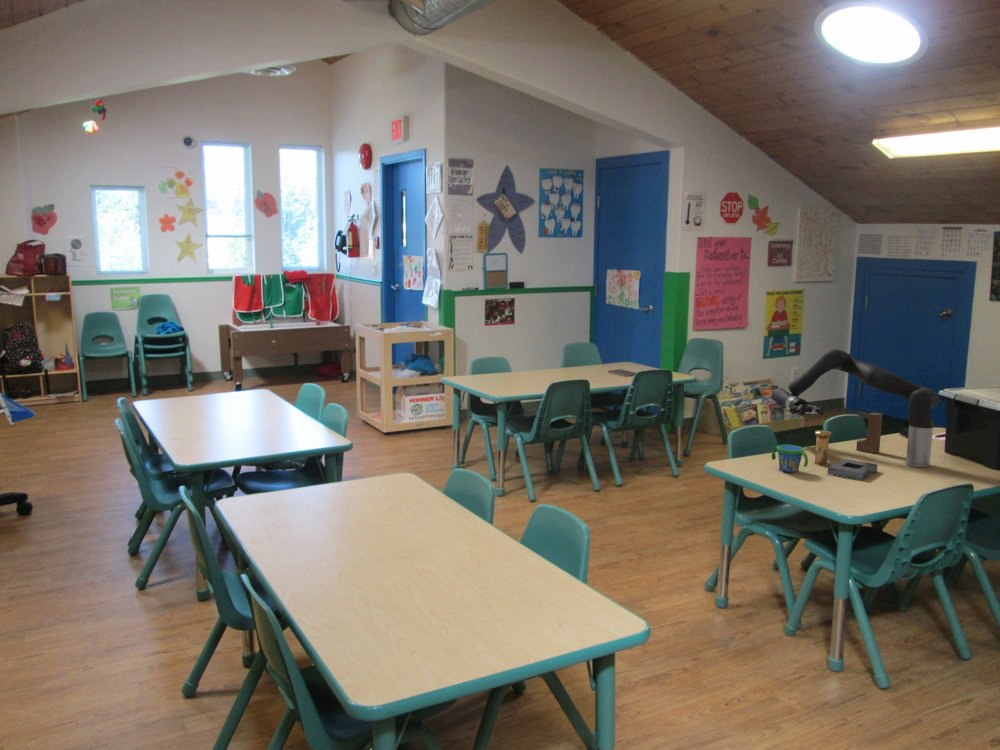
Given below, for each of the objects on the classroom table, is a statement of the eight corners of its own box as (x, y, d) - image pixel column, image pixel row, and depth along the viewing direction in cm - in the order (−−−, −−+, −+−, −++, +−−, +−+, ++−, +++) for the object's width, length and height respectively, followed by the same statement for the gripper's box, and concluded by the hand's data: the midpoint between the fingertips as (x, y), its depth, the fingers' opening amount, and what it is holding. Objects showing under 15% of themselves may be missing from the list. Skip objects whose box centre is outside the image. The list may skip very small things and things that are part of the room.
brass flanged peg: (816, 461, 370) (818, 429, 368) (831, 463, 366) (833, 431, 364) (810, 464, 365) (812, 432, 363) (825, 466, 361) (828, 434, 359)
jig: (842, 465, 364) (843, 458, 363) (876, 471, 355) (877, 464, 354) (827, 474, 350) (828, 467, 350) (862, 480, 341) (863, 473, 341)
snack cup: (812, 473, 351) (814, 449, 350) (796, 477, 345) (798, 453, 344) (781, 464, 364) (782, 442, 362) (765, 468, 358) (766, 445, 356)
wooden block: (855, 450, 389) (858, 412, 386) (859, 448, 392) (862, 410, 389) (876, 453, 383) (879, 415, 380) (879, 452, 386) (882, 413, 383)
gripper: (782, 397, 387) (797, 405, 371) (812, 397, 388) (829, 404, 373) (781, 413, 389) (796, 421, 373) (811, 413, 390) (827, 421, 374)
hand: (812, 413), depth 373 cm, fingers open, 8 cm apart
